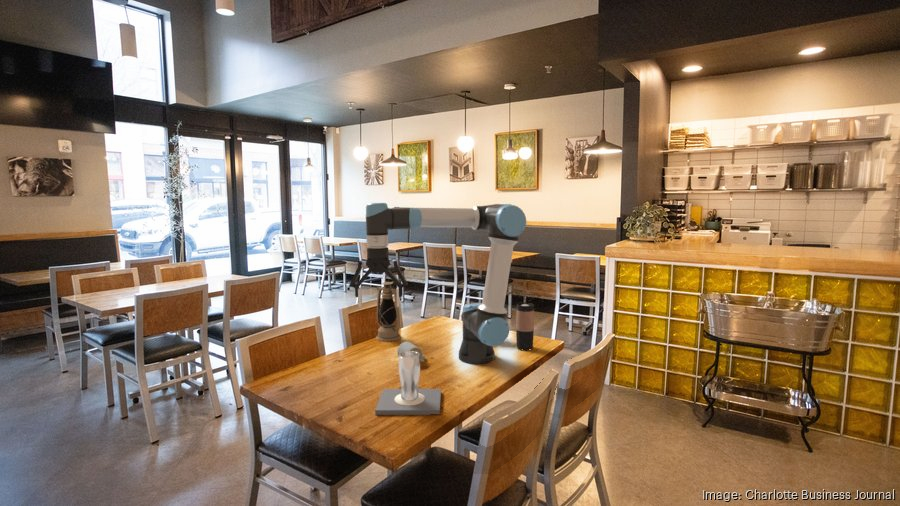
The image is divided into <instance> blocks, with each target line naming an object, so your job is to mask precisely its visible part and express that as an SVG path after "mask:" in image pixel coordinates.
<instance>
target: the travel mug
mask: <svg viewBox="0 0 900 506" xmlns="http://www.w3.org/2000/svg"><path fill="white" fill-rule="evenodd" d="M534 307H535V304H534V303H532V302H529V303H525V302H518V303H517V304H516V318H515V320H516V323H515V324H516V325H515V327H516V328H515V330H516V331H515V332H516V333H515V334H516V337H515V338H516V349H517V348H519V349H523V350H529V349H532V348H534V331H535V330H534V329H535V328H534V327H535V324H534V322H535V321H534V320H535V308H534ZM519 349H518V350H519ZM532 350H533V349H532ZM529 351H530V350H529Z"/></svg>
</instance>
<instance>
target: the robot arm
mask: <svg viewBox="0 0 900 506" xmlns="http://www.w3.org/2000/svg"><path fill="white" fill-rule="evenodd" d="M526 217H527V216H526V214H525V212H524V211H523V209H521V208H520V207H519V206H517V205H514V204H511V203H509V204H508V203H505V204H501V203H495V204H487V205H474V206H472V208H463V207H462V208H461V207H457V208H454V207H453V208H452V207H405V206H404V207H401V206H400V207H399V206H394V207H388V204H387V203H386V202H370V203H369V202H368V203H367V204H366V206H365V226H366V227H365V229H366V246H367V248H366V260H361V259H360V260H359V261H358V263H357V268H356V270H355V272H354V274H353V276H352V279H351V281H350V283H349V287H351V288H354V295H355V296H354V297H355V298H357V300H358V301H357V303H358V305H357V306H358V308H361V307H362V306H363V294H362V293H363V291H362V289H363V288H362V287H363V286H362V287H361V285H362V284H363V283H364V282H365V280H366V279H367V278H368V277H369V275H370V274H371V273H373V274H386V276H388V277H389V279H390V280H391V282H392V283H393V284H395V285H396V286H397V287H396V288H395V290H396V293H397V307H399V308H400V305H401V301H400V299H401V297H403V288H404V287H407V286H408V282H407V279H406V277H405V276H404V274H403V272H402V270H401V268H400V266H399V261H398V259H395V260H390V258H389V257H390V256H389V255H390V254H389V247H388V246H389V230H390V231H391V230H415V229H417V230H418V229H421V228H471V229H472V230H473V231H485V232H488V236H487V237H488V240H490V249H489V255H488V263H487V268H486V270H487V271H486V274H485V275H486V276H485V283H484V288H483V295H482V296H483V297H482V302H473V303H467V304H464V305H463V306H462V311H461V315H462V314H463V321H462V341H461V344H460V347H459V350H458V359H459V360H460V361H462V362H464V363H468V364H473V363H474V365H475V364H476V363H481V364H487V362H488V363H490V361H491V362H493V361H494V360H495V357H496V355H495V354H496V353H495V350H494V347H496V346H499V345H501V344H503V343H505V342H506V340H507V338H508V337H509V334H510V325H509V324H508V322H507V318H508V317H507V316H508V311H507V309H506V308H505V302H506V297H507V296H506V295H507V291H508V283H509V277H510V271H511V264H512V260H513V259H512V258H513V252H514V251H513V250H514V246H515V245H516V244H517V243H519V240H520V235H521V234H522V233H523V232H524V231H525V229H526V226H527V218H526ZM365 266H367V268H368V270H367V271H366V272H365V273H364V274H363V276H362V277H361V278H360V279H359V280H358V277H359V275H360V273H361V271H362V269H363V268H364V267H365ZM390 266H392V268H394V270H395V273H396V274H397V275H398V278H399V279H398V278H397V276H395V274H393V272H392V271H391V270H390V268H389V267H390ZM357 280H358V282H357ZM400 281H401V282H400ZM356 282H357V283H356ZM493 359H494V360H493ZM492 360H493V361H492Z"/></svg>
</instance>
